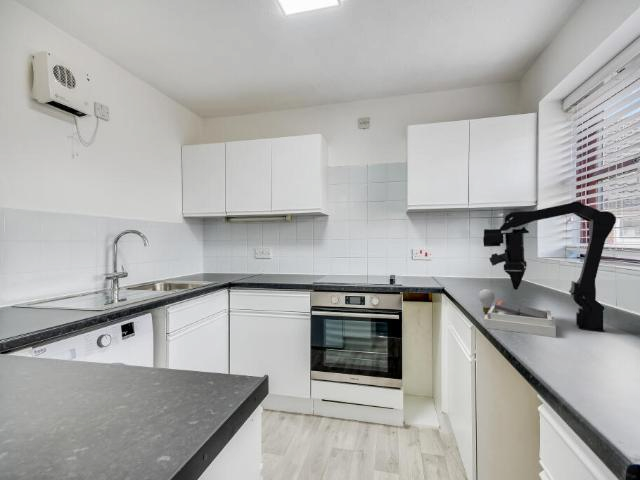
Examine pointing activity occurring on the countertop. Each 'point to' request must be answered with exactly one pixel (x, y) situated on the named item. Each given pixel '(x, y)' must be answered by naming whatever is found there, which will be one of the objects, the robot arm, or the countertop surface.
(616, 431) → the countertop surface
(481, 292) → the light bulb
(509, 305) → the panel
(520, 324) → the breaker box
